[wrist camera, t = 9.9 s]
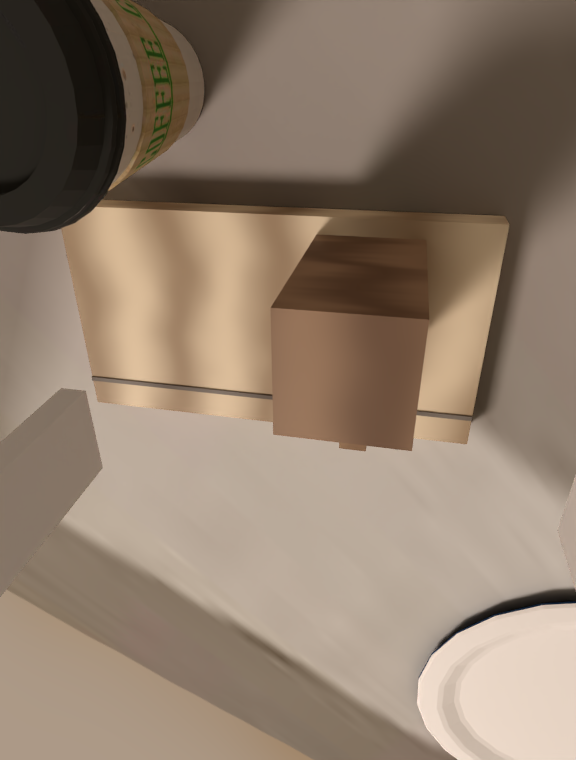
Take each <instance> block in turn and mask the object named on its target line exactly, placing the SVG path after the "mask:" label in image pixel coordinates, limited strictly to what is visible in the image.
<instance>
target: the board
mask: <svg viewBox="0 0 576 760" xmlns="http://www.w3.org/2000/svg"><path fill="white" fill-rule="evenodd" d="M61 229H62V234H63V239H64V244H65V248H66V253H67V258H68V263H69V267H70V272H71V277H72V281H73V286H74V291H75V296H76V300H77V305H78V310H79V315H80V319H81V324H82V329H83V333H84V338H85V343H86V348H87V352H88V357H89V362H90V367H91V371H92V380H93V381H94V385H95V390H96V395H97V400H98V402H103V403H112V404H121V405H129V406H138V407H147V408H156V409H164V410H173V411H182V412H190V413H199V414H208V415H217V416H225V417H234V418H243V419H252V420H260V421H269V422H273V396H272V353H271V311H270V308H271V306H272V304H273V303H274V301H275V300H276V298H277V296H278V295H279V293H280V292H281V290H282V289H283V287H284V285H285V284H286V282H287V281H288V279H289V277H290V276H291V274H292V273H293V271H294V269H295V268H296V266H297V265H298V263H299V261H300V260H301V258H302V257H303V255H304V254H305V252H306V250H307V249H308V247H309V246H310V244H311V242H312V241H313V239H314V238H315V236H316V234H318V235H338V236H359V237H379V238H399V239H420V240H426V243H427V271H428V298H429V326H428V333H427V340H426V348H425V355H424V363H423V370H422V378H421V385H420V393H419V400H418V408H417V415H416V423H415V430H414V438H417V439H426V440H435V441H443V442H452V443H461V444H467V441H468V436H469V430H470V425H471V421H472V415H473V410H474V405H475V400H476V394H477V389H478V384H479V379H480V374H481V369H482V364H483V358H484V353H485V348H486V343H487V338H488V333H489V328H490V322H491V317H492V312H493V307H494V302H495V297H496V292H497V286H498V281H499V276H500V271H501V266H502V261H503V256H504V250H505V245H506V240H507V235H508V230H509V223H508V221H507V220H506V218H505V216H495V215H470V214H445V213H420V212H395V211H371V210H346V209H321V208H296V207H271V206H246V205H222V204H197V203H172V202H147V201H122V200H101V201H100V202H99V203H98V205H97V206H96V207H95V208H94V209H93V210H92V211H91V212H90V213H89V214H87V215H86V216H84V217H83V218H81V219H80V220H79V221H77V222H76V223H74V224H71V225H69V226H66V227H63V228H61Z"/></svg>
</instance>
